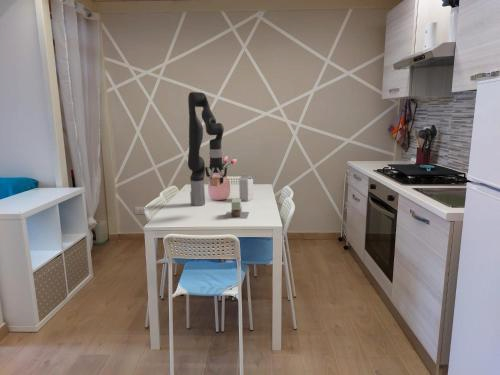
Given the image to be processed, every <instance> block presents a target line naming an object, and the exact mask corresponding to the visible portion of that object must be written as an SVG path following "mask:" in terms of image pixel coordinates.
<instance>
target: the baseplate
mask: <svg viewBox="0 0 500 375" xmlns="http://www.w3.org/2000/svg"><path fill="white" fill-rule="evenodd" d="M249 214H250V211H242V213H241V216H240V217H232V214H231V211H226V213H225V214H224V216H223V219H238V220H239V219H240V220H241V219H248V217H249Z"/></svg>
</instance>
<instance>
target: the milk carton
mask: <svg viewBox="0 0 500 375" xmlns="http://www.w3.org/2000/svg"><path fill="white" fill-rule="evenodd" d="M238 182H239V185H238V186H239V199H241V201H243V202H244V201H246V202H250V201H251V200H254V179H253V177H252V175H251V174H250V173H241V175H240V178H239V180H238Z"/></svg>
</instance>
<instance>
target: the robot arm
mask: <svg viewBox="0 0 500 375" xmlns="http://www.w3.org/2000/svg"><path fill="white" fill-rule="evenodd" d="M187 102H188V117H189V118H188V155H187V156H188V157H187V166H188V169H189V170H190V171H192V172H191V175H190V178H189V179H190V192H189V193H190V197H189V198H190V205H191V206H195V207H199V206H205V205H206V193H205V176H206V177H207V178H209V179H210V178H213V175H214V174H219V175H218V176H219V177H221V184H222V183H223V184H224V178H225V177H226V176H227V173H228V167H227V166H223V152H222V140H223V135H224V131H225V130H224V125H223V124H222V123H221V122H220V123H219V122H217V120H216V118H215V116H214V114H213V112H212V110H211V106H210V104H209V101H208V98H207V96H206V94H205V93H204V92H197V91H196V92H194V91H191V92H189V93H188V98H187ZM196 108H203V109H202V111H201V119H202V121H203V123H204V124H205V132H206V134H207V135H209V136H215V137H214V138H212V139H209V166H206V164H205V159H204V158H203V157H202V156H200V149H201V147H202V146H201V145H202V143H203V137H204V126H203V124H202V122H201V121H200V118H199V117H198V115H197V113H196V112H197V111H196ZM222 170H223V171H224V173H223V172H222ZM209 171H210V172H209ZM223 184H222V185H223Z"/></svg>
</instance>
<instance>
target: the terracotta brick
mask: <svg viewBox="0 0 500 375" xmlns="http://www.w3.org/2000/svg"><path fill="white" fill-rule="evenodd" d="M223 184H224V182H223V183H222V184H221V176H220V175H218V176H212V178H209V185H210V186H211V187H220V186H221V185H223Z"/></svg>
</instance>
